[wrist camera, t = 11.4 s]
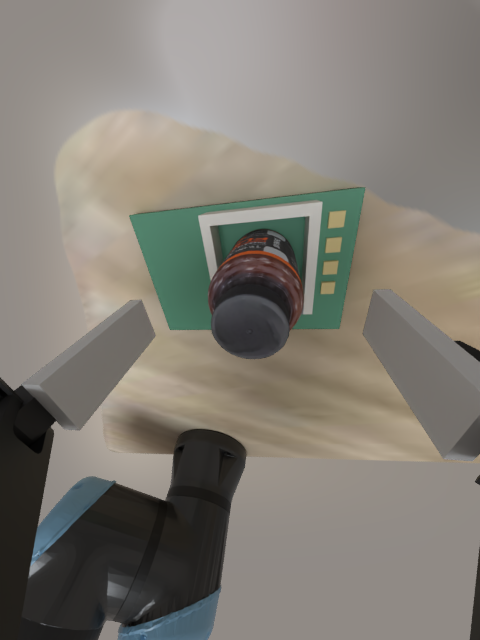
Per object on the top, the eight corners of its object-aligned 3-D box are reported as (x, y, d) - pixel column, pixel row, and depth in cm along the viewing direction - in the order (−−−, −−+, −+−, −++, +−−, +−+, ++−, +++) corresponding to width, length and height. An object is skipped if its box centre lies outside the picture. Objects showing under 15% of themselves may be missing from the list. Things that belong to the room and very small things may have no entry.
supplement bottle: (267, 211, 17) (257, 241, 8) (307, 264, 19) (339, 341, 10) (218, 257, 20) (168, 321, 10) (258, 300, 22) (245, 386, 12)
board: (173, 324, 27) (160, 342, 24) (136, 214, 20) (111, 219, 17) (336, 322, 23) (345, 343, 20) (359, 187, 16) (379, 187, 13)
